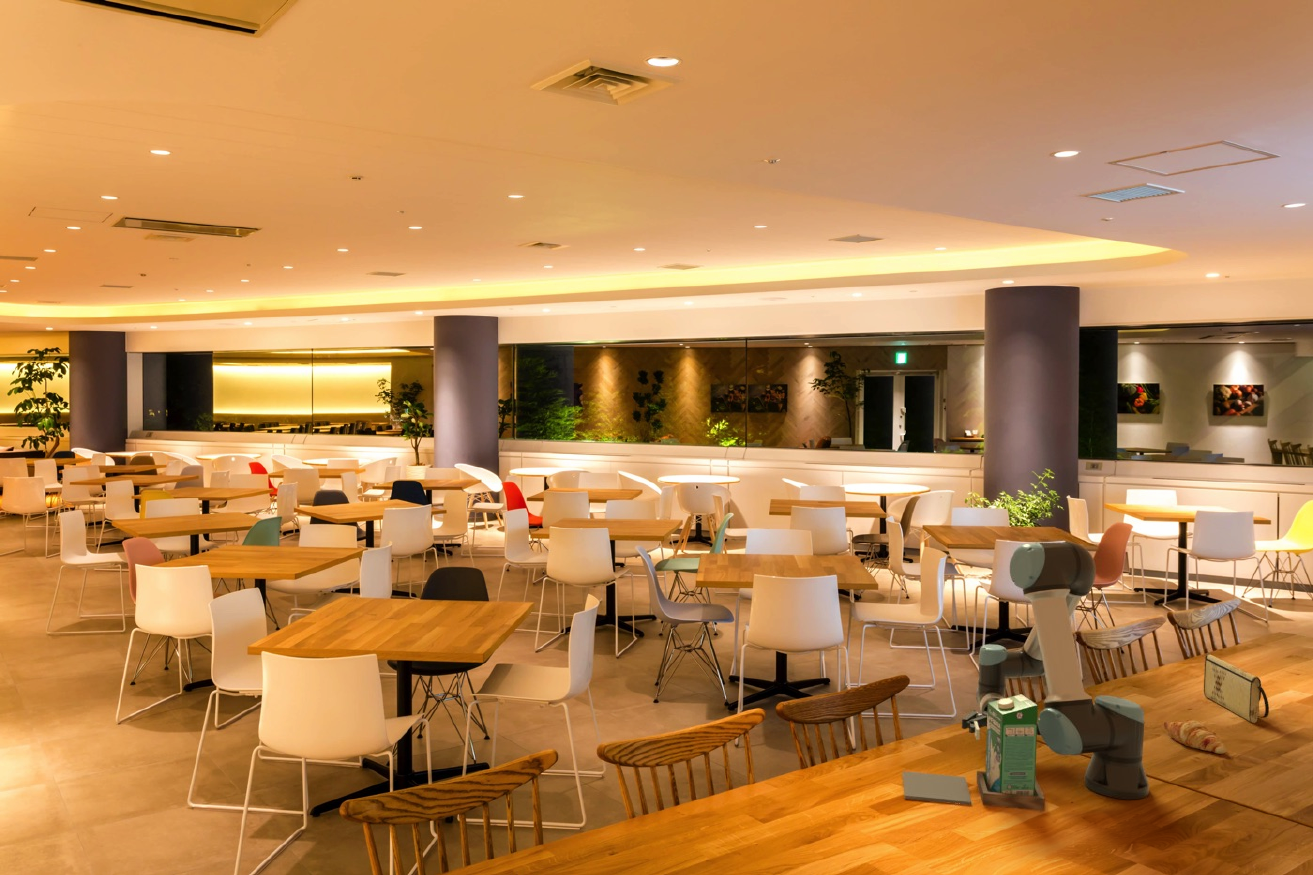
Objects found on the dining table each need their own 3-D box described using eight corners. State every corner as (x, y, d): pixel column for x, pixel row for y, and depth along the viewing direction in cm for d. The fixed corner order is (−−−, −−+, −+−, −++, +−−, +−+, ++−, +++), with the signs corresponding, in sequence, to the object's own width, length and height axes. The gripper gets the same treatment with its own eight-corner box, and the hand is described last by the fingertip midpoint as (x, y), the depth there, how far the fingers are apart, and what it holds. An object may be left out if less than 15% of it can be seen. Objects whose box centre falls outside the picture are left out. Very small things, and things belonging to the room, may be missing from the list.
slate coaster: (965, 779, 260) (965, 776, 260) (971, 805, 245) (971, 801, 245) (902, 774, 264) (902, 771, 264) (904, 798, 248) (905, 795, 248)
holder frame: (1034, 787, 256) (1034, 776, 256) (1044, 810, 242) (1044, 798, 242) (976, 782, 259) (976, 770, 259) (982, 804, 245) (983, 793, 245)
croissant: (1232, 767, 281) (1243, 741, 282) (1209, 755, 277) (1221, 729, 278) (1169, 740, 301) (1180, 716, 301) (1148, 728, 297) (1159, 704, 298)
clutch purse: (1275, 726, 306) (1277, 678, 305) (1252, 725, 306) (1255, 678, 305) (1219, 695, 336) (1221, 652, 335) (1199, 695, 335) (1201, 651, 335)
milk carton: (984, 789, 255) (987, 693, 253) (1018, 788, 255) (1021, 693, 254) (999, 804, 246) (1003, 705, 244) (1034, 803, 246) (1038, 704, 245)
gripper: (1042, 727, 274) (1056, 755, 254) (948, 720, 280) (954, 746, 259) (1043, 701, 274) (1057, 726, 253) (949, 694, 279) (955, 718, 258)
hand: (1005, 737), depth 256 cm, fingers open, 13 cm apart
